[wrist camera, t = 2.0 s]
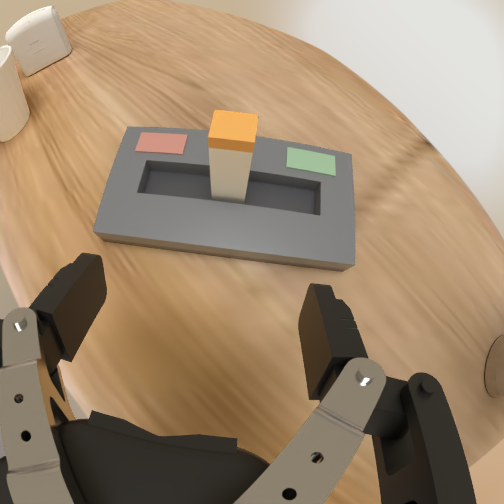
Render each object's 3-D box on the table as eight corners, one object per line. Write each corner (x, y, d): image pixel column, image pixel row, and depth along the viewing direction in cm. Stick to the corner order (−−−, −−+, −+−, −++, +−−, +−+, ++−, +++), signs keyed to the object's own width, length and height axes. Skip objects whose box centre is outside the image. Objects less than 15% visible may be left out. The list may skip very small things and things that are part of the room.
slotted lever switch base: (341, 168, 31) (352, 153, 28) (342, 271, 28) (355, 264, 25) (134, 142, 30) (127, 125, 27) (104, 241, 27) (91, 230, 23)
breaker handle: (246, 183, 28) (258, 114, 18) (243, 206, 27) (254, 142, 18) (216, 179, 28) (214, 109, 18) (212, 202, 27) (207, 137, 17)
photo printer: (24, 80, 32) (-1, 36, 20) (27, 69, 33) (5, 26, 21) (71, 56, 34) (52, 5, 22) (73, 45, 35) (55, -3, 23)
